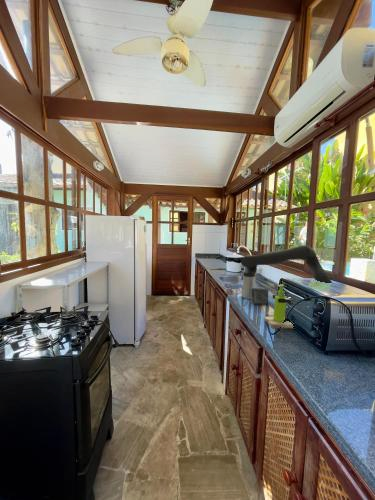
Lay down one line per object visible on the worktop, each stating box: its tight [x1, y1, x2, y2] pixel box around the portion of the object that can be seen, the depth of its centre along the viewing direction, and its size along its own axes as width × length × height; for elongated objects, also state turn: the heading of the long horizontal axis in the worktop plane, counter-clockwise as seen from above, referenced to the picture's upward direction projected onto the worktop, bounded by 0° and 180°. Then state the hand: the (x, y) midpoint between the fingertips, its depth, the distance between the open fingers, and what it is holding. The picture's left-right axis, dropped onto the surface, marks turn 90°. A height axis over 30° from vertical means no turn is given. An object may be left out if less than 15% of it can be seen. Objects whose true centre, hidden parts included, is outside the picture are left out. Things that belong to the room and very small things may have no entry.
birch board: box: [263, 315, 294, 329], centre depth 125 cm, size 12×12×2 cm
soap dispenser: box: [272, 283, 287, 322], centre depth 125 cm, size 6×7×20 cm
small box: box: [251, 287, 269, 305], centre depth 161 cm, size 11×6×10 cm, turn 84°
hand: (275, 298), depth 124 cm, fingers open, 6 cm apart
